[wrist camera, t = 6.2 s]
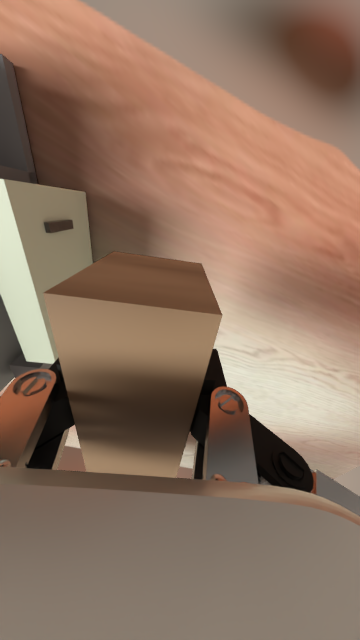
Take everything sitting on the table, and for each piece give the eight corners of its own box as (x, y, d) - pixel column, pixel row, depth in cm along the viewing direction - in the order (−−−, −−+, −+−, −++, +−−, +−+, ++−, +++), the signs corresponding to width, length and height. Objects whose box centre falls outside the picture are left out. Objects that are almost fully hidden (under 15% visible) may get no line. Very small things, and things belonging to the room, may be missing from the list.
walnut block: (176, 392, 13) (174, 482, 9) (118, 387, 13) (87, 476, 9) (201, 263, 9) (222, 315, 4) (113, 251, 8) (42, 292, 4)
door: (100, 311, 30) (59, 364, 20) (78, 309, 30) (26, 361, 20) (88, 192, 22) (10, 180, 12) (58, 187, 22) (-48, 171, 12)
